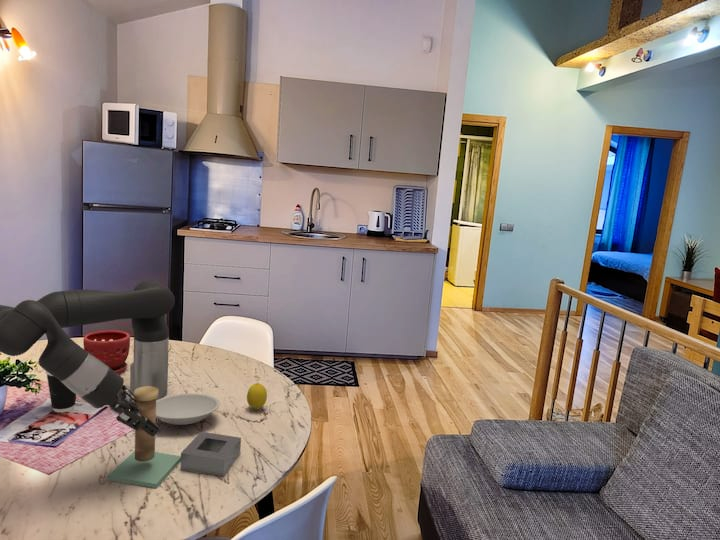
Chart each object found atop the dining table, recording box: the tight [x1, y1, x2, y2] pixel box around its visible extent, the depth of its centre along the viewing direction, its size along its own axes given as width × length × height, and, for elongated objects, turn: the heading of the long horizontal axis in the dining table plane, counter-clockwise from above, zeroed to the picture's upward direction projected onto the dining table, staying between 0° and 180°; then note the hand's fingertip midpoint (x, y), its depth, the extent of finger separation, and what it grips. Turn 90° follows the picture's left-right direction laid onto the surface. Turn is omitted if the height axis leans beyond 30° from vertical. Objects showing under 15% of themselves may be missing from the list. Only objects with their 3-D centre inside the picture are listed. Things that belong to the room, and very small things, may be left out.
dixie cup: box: [44, 370, 77, 413], centre depth 133 cm, size 8×8×11 cm
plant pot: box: [83, 330, 131, 375], centre depth 159 cm, size 13×13×12 cm
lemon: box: [246, 382, 268, 410], centre depth 142 cm, size 6×6×8 cm
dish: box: [156, 393, 221, 426], centre depth 132 cm, size 18×14×5 cm
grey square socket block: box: [180, 431, 242, 477], centre depth 115 cm, size 10×10×4 cm
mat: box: [106, 450, 181, 489], centre depth 110 cm, size 11×11×1 cm
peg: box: [134, 386, 159, 462], centre depth 108 cm, size 5×5×15 cm
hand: (155, 427), depth 109 cm, fingers closed on peg, 4 cm apart
